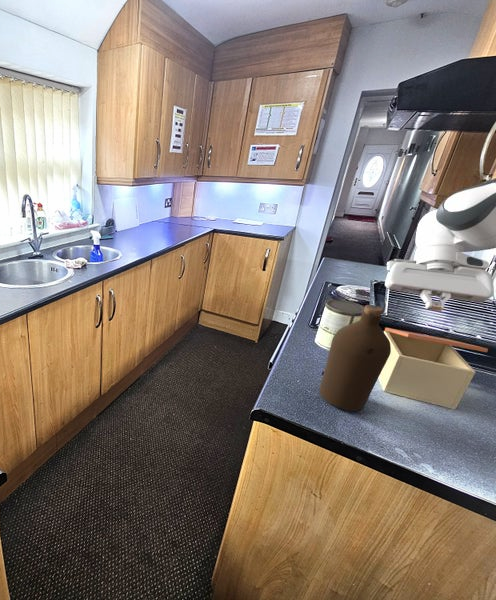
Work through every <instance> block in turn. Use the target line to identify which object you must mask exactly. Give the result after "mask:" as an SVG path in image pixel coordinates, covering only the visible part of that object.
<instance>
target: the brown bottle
mask: <svg viewBox="0 0 496 600" xmlns="http://www.w3.org/2000/svg"><path fill="white" fill-rule="evenodd" d="M364 307H365V308H364V309H365V310H364V311H363V312H362V315H361V318H360V320H359V321H357V322H355V323H352V324H349V325H347V326H344V327H342V328H341V329H339V330H338V331H337V333H336V334H335V335H334V337H333V339H332V343H331V347H330V350H328V356H327V359H326V363H325V367H324V370H323V371H321V376H322V378H321V382H320V385H319V388H318V394H319V395H320V397H321V398H322V399H323V400H324V401H325V402H326V403H328V404H330V405H331V406H333V407H336V408H337V409H340V410H344V411H349V412H359V411H361V410H363V409H364V408H365V406H366V405H367V402H368V400H369V398H370V396H371V393H372V392H373V389H374V387H375V385H376V383H377V381H378V380H379V379H378V377H379V375H380V373H381V371H382V370H383V368H384V366H385V364H386V362H387V360H388V358H389V356H390V352H391V345H390V341H389V339H388V338H387V336H386V335H385V334H384V330H383V329H382V328H381V326H380V325H379V324H380V322H381V320H382V317H383V313H384V309H383V307H381V306H378V305H373V304H367V305H365V306H364Z"/></svg>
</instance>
